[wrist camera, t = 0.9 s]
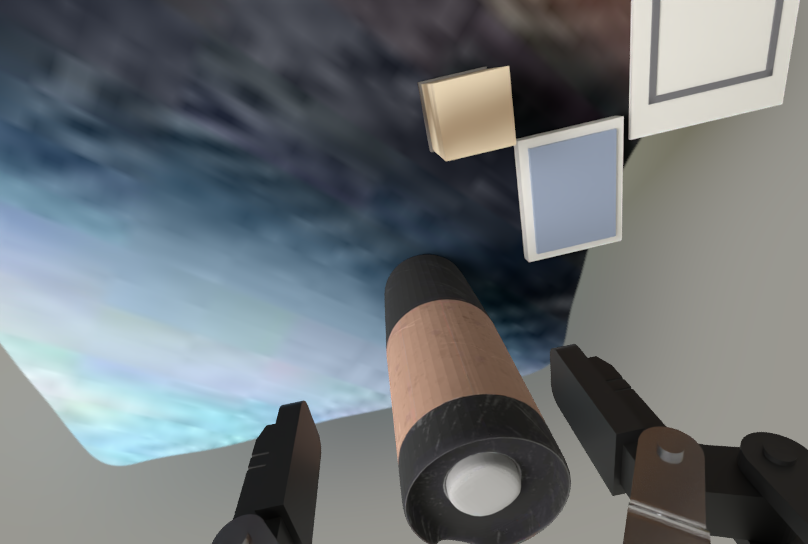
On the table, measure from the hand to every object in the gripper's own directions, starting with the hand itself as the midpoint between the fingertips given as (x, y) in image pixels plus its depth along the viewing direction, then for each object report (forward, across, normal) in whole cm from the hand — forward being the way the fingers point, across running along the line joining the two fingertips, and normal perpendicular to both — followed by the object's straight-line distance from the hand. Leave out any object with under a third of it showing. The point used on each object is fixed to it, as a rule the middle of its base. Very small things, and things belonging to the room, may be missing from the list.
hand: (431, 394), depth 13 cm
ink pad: (+21, -14, +2) cm, 26 cm away
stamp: (+22, -6, -6) cm, 23 cm away
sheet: (+21, -25, -9) cm, 34 cm away
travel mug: (+22, -2, +8) cm, 23 cm away
